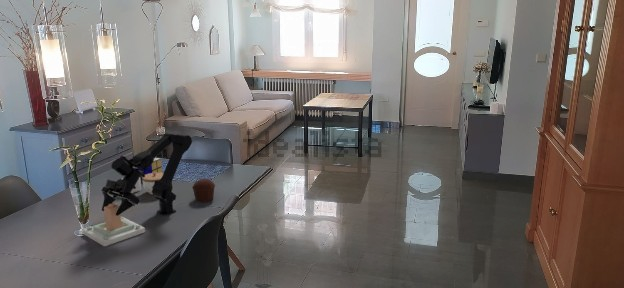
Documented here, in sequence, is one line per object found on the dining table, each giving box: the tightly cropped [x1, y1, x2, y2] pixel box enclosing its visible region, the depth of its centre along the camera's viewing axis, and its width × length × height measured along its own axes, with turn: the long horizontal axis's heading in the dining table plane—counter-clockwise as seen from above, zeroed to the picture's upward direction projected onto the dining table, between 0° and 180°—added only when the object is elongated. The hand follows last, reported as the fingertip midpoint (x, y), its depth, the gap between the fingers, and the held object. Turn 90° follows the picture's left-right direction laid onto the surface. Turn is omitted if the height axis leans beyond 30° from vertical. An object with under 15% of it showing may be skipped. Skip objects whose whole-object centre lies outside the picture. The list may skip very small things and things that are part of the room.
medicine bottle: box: [130, 178, 142, 194], centre depth 250 cm, size 7×7×12 cm
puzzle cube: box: [137, 157, 163, 179], centre depth 276 cm, size 10×10×10 cm
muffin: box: [192, 178, 216, 203], centre depth 240 cm, size 12×11×10 cm
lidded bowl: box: [141, 172, 164, 196], centre depth 248 cm, size 13×13×11 cm
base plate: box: [82, 216, 146, 247], centre depth 199 cm, size 18×18×4 cm
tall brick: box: [103, 202, 122, 231], centre depth 198 cm, size 4×4×11 cm
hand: (109, 213), depth 196 cm, fingers open, 9 cm apart
